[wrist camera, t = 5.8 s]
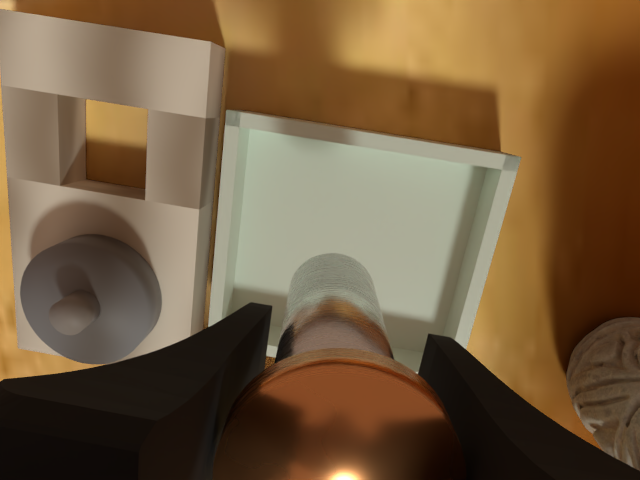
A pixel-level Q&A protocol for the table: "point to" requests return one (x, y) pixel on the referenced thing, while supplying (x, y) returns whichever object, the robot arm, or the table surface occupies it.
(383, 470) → the pin
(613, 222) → the table surface
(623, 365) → the carving
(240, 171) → the tray
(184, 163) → the white holder block
